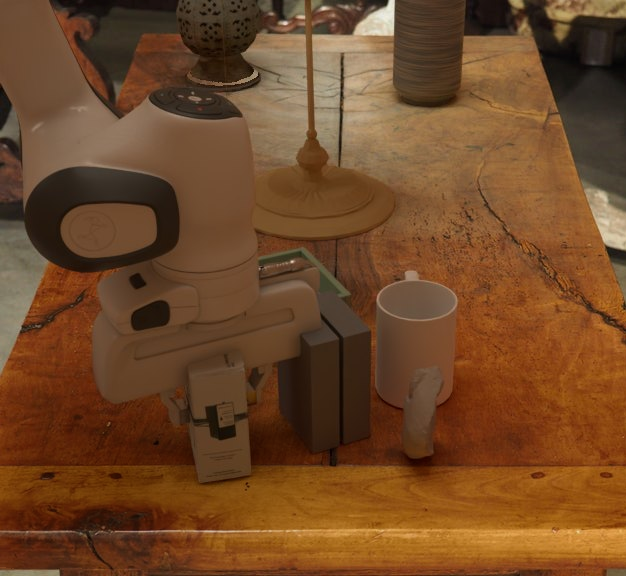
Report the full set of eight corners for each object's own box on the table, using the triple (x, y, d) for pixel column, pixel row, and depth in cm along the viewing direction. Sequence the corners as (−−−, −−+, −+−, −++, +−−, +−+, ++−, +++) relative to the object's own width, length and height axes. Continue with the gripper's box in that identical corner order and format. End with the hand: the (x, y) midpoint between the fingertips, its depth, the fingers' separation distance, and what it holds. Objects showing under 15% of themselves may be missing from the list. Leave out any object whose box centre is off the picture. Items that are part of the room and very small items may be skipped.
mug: (457, 410, 106) (462, 319, 100) (377, 412, 105) (378, 321, 100) (444, 343, 116) (448, 258, 111) (371, 345, 116) (372, 259, 111)
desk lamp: (192, 246, 135) (165, -85, 115) (203, 171, 155) (182, -121, 135) (436, 240, 137) (451, -85, 117) (416, 167, 157) (426, -121, 137)
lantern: (174, 90, 184) (161, -59, 172) (190, 64, 196) (179, -77, 184) (255, 93, 184) (249, -57, 171) (266, 66, 196) (261, -75, 184)
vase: (409, 113, 177) (414, -28, 165) (381, 90, 186) (383, -45, 174) (472, 104, 181) (480, -34, 169) (441, 82, 190) (447, -50, 179)
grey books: (312, 454, 99) (310, 346, 93) (278, 408, 106) (274, 304, 100) (370, 436, 102) (371, 329, 96) (333, 392, 108) (333, 289, 102)
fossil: (431, 482, 96) (436, 391, 91) (393, 475, 97) (396, 385, 92) (443, 443, 101) (448, 354, 96) (407, 437, 102) (410, 349, 97)
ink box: (186, 427, 102) (177, 321, 96) (238, 420, 103) (232, 315, 98) (197, 486, 95) (188, 375, 89) (252, 477, 96) (247, 367, 90)
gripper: (304, 238, 97) (306, 365, 104) (77, 287, 88) (95, 422, 95) (334, 268, 92) (334, 400, 99) (97, 323, 83) (115, 462, 90)
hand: (215, 411), depth 97 cm, fingers closed on ink box, 5 cm apart
